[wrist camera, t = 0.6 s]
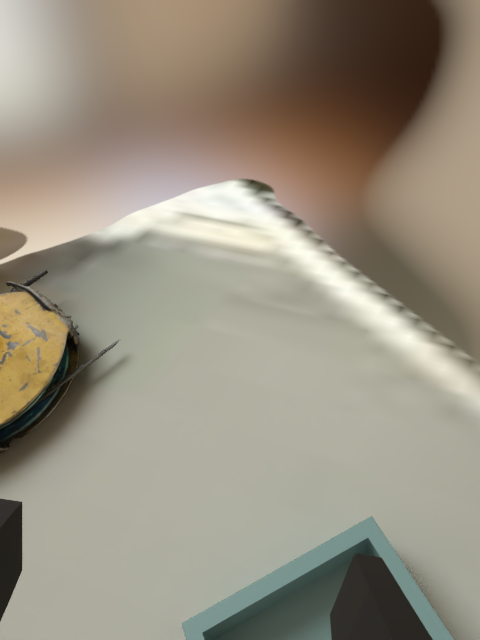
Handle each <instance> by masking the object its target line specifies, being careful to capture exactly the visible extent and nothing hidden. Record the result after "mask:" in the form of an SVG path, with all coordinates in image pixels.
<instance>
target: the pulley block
mask: <svg viewBox="0 0 480 640" xmlns="http://www.w3.org/2000/svg"><path fill="white" fill-rule="evenodd" d="M47 273H48V272H47V270H44V271H43V272H41V273H40V274H38V275H36V276H34V277H33V278H32V279H30V280H29V281H25V283H24V284H23V285H22V284H16V283H14V282H7V283H6V284H7V286H13V288H12V290H11V291H10V292H8V293H4V294H0V452H2V451H5V450H7V449H8V448H9V447H10V446H9V445H8V444H9V442H10V441H11V440H12V439H13V438H22V437H23V436H25V435H26V434H28V433H29V432H30V431H32V430H33V429H34V428H36V427H37V426H38V425H39V424H41V423H42V422H43V421H44V420H45V419H46V418H47V417H48V416H49V415H50V414H51V412H52V411H53V410H54V409H55V408H56V406H57V405H58V404H59V402H60V401H61V399H62V398H63V397H64V395H65V394H66V392H67V390H68V388H69V386H70V384H71V382H72V380H73V378H74V376H75V375H77V374H78V373H79V372H81V371H82V370H83V369H85V368H86V367H87V366H89V365H90V364H91V363H93V362H94V361H95V360H97V359H98V358H99V357H101V356H102V355H103V354H104V353H106V352H107V351H108V350H110V349H111V348H112V347H114V346H115V345H116V344H117V343H118V341H119V340H118V341H116V342H115V343H113V344H112V345H111V346H109V347H108V348H106V349H105V350H103V351H101V352H100V353H99V354H98V355H96V356H95V357H94V358H92V359H91V360H89V361H88V362H87V363H85V364H83V365H81V366H80V367H78V368H77V366H78V361H79V349H78V347H79V337H78V335H79V333H78V332H77V331H76V330H75V329H77V328H78V325H76V327H75V328H74V327H73V325H72V324H73V321H72V320H71V319H70V318H71V316H68V317H67V315H66V314H65V313H63V312H62V310H61V309H60V308H59V307H58V306H57V305H56V304H55V303H53V302H51V301H50V300H49V299H48V298H46V297H45V296H43V295H42V294H40V293H38V291H35V290H33V289H31V288H29V287H28V286H29V285H31V284H32V283H34V282H35V281H37V280H38V279H40V278H41V277H42V276H44V275H45V274H47Z"/></svg>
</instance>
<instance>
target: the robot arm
mask: <svg viewBox="0 0 480 640" xmlns="http://www.w3.org/2000/svg"><path fill="white" fill-rule="evenodd" d="M21 571H22V502H18V501H12V500H5V499H0V621H1V618H2V616H3V614H4V612H5V609H6V607H7V605H8V602H9V600H10V598H11V595H12V593H13V590H14V588H15V586H16V583H17V581H18V578H19V576H20V574H21ZM330 624H331V638H332V640H433V639H432V637H431V636H430V634H429V633H428V631H427V630H426V628H425V626H424V625H423V623H422V622H421V620H420V618H419V617H418V615H417V614H416V612H415V610H414V609H413V607H412V606H411V604H410V602H409V601H408V599H407V598H406V596H405V594H404V593H403V591H402V589H401V588H400V586H399V585H398V583H397V581H396V580H395V578H394V576H393V575H392V573H391V572H390V570H389V568H388V567H387V565H386V564H385V562H384V560H383V559H382V557H375V556H369V555H362V554H356V553H354V556H353V558H352V561H351V563H350V566H349V568H348V571H347V573H346V576H345V578H344V581H343V583H342V586H341V588H340V591H339V593H338V596H337V598H336V601H335V603H334V606H333V608H332V611H331V613H330Z"/></svg>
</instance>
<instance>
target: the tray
mask: <svg viewBox="0 0 480 640" xmlns="http://www.w3.org/2000/svg"><path fill="white" fill-rule="evenodd" d="M354 553H356V554H362V555H369V556H375V557H382V559H383V560H384V562H385V564H386V565H387V567H388V568H389V570H390V572H391V573H392V575H393V576H394V578H395V580H396V581H397V583H398V585H399V586H400V588H401V589H402V591H403V593H404V594H405V596H406V598H407V599H408V601H409V602H410V604H411V606H412V607H413V609H414V610H415V612H416V614H417V615H418V617H419V618H420V620H421V622H422V623H423V625H424V626H425V628H426V630H427V631H428V633H429V634H430V636H431V637H432V639H433V640H454V639H453V638H452V636H451V635H450V633H449V632H448V630H447V629H446V627H445V626H444V624H443V623H442V621H441V620H440V618H439V617H438V615H437V614H436V612H435V611H434V609H433V608H432V606H431V605H430V603H429V602H428V600H427V599H426V597H425V595H424V594H423V592H422V591H421V589H420V588H419V586H418V585H417V583H416V582H415V580H414V579H413V577H412V576H411V574H410V573H409V571H408V570H407V568H406V567H405V565H404V564H403V562H402V561H401V559H400V558H399V556H398V555H397V553H396V552H395V550H394V549H393V547H392V546H391V544H390V543H389V541H388V540H387V538H386V537H385V535H384V533H383V532H382V530H381V529H380V527H379V526H378V524H377V523H376V521H375V520H374V518H373V517H372V516H371V517H369V518H367V519H366V520H364V521H362V522H360V523H358V524H357V525H355V526H353V527H351V528H350V529H348V530H346V531H344V532H343V533H341V534H339V535H337V536H335V537H334V538H332V539H330V540H328V541H327V542H325V543H323V544H321V545H320V546H318V547H316V548H314V549H312V550H311V551H309V552H307V553H305V554H304V555H302V556H300V557H298V558H297V559H295V560H293V561H291V562H289V563H288V564H286V565H284V566H282V567H281V568H279V569H277V570H275V571H274V572H272V573H270V574H268V575H266V576H265V577H263V578H261V579H259V580H258V581H256V582H254V583H252V584H251V585H249V586H247V587H245V588H243V589H242V590H240V591H238V592H236V593H235V594H233V595H231V596H229V597H228V598H226V599H224V600H222V601H221V602H219V603H217V604H215V605H213V606H212V607H210V608H208V609H206V610H205V611H203V612H201V613H199V614H198V615H196V616H194V617H192V618H190V619H189V620H187V621H185V622H183V623H182V627H183V630H184V634H185V637H186V640H332V638H331V624H330V613H331V611H332V608H333V606H334V603H335V601H336V598H337V596H338V593H339V591H340V588H341V586H342V583H343V581H344V578H345V576H346V573H347V571H348V568H349V566H350V563H351V561H352V558H353V556H354Z"/></svg>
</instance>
